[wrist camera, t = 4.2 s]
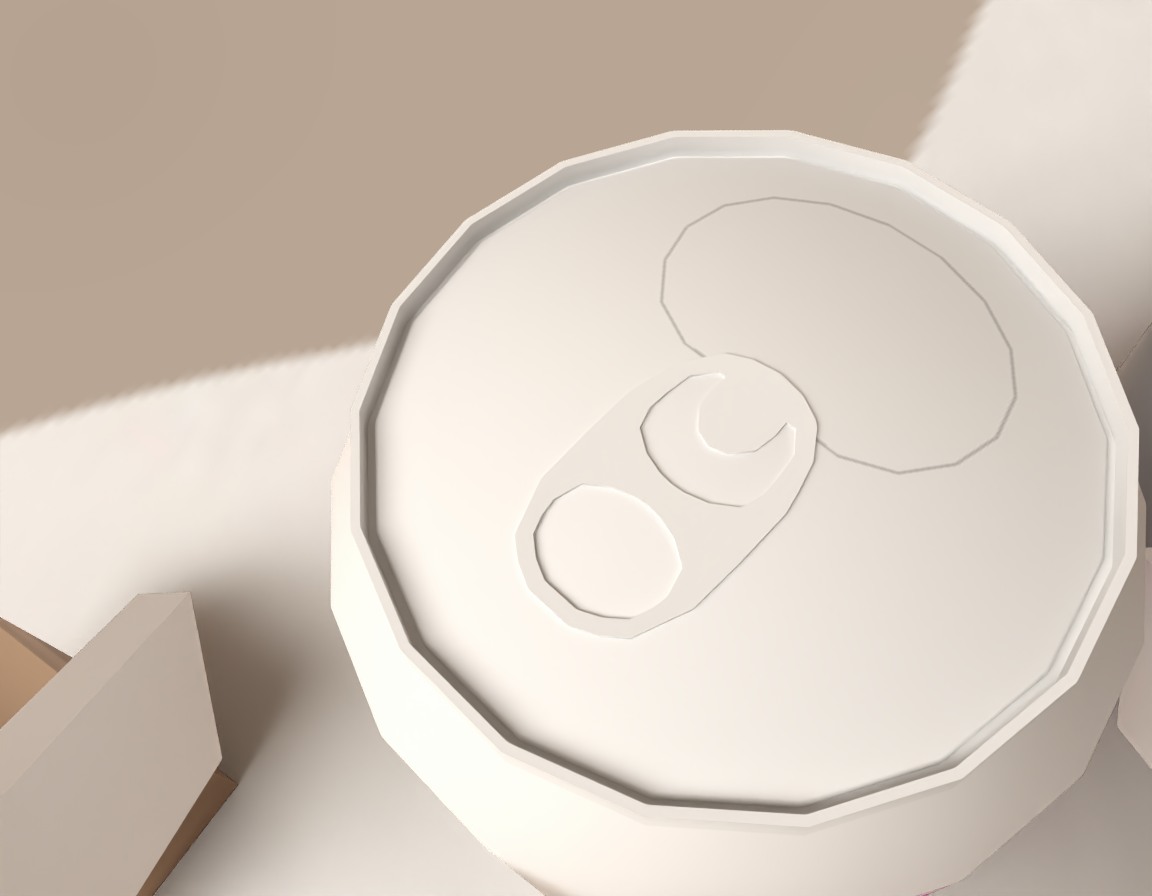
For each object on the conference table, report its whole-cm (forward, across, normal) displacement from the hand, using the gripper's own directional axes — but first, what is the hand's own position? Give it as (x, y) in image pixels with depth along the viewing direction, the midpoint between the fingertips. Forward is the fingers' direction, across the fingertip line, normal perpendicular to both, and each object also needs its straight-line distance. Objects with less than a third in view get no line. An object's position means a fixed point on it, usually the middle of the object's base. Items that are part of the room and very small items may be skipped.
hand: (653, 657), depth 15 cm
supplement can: (+7, +1, -6) cm, 9 cm away
